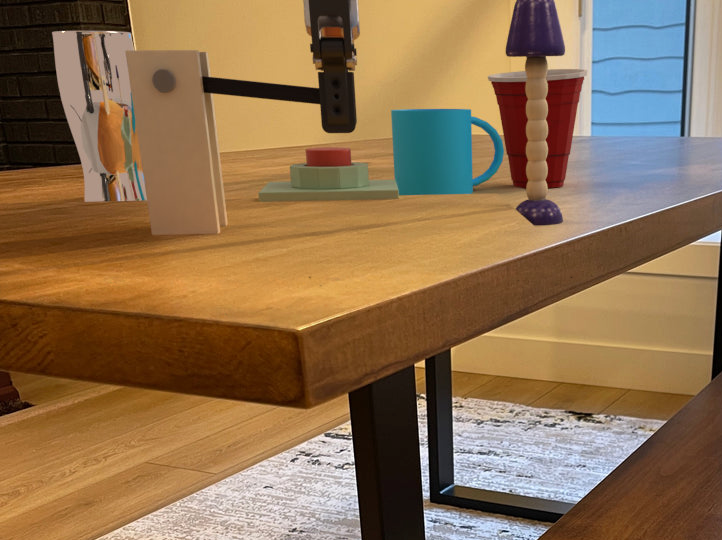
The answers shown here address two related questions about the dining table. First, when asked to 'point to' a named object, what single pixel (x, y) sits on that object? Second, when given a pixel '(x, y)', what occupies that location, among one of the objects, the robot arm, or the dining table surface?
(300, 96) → the lever
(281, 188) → the button box
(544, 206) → the toy lamp
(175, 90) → the bracket
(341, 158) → the button
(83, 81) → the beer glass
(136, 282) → the dining table surface
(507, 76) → the plastic cup
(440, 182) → the mug
